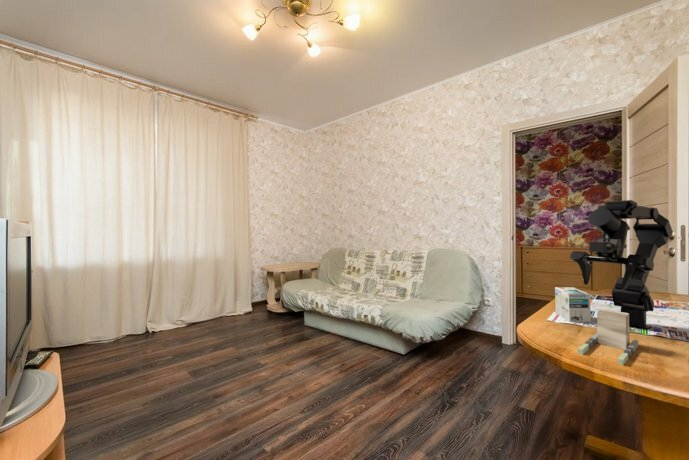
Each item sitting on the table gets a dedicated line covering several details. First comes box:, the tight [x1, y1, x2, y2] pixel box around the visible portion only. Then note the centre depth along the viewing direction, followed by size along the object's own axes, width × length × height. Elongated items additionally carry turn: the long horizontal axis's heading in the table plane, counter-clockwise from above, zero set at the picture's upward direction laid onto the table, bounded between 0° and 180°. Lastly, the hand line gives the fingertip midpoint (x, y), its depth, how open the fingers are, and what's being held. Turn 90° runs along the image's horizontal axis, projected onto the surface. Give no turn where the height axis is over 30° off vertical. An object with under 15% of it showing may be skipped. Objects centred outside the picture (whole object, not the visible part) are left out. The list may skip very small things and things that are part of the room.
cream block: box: [596, 308, 630, 351], centre depth 86 cm, size 4×6×9 cm, turn 37°
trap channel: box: [577, 331, 639, 366], centre depth 83 cm, size 17×9×2 cm, turn 127°
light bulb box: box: [554, 286, 592, 323], centre depth 109 cm, size 11×7×11 cm, turn 168°
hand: (603, 287), depth 92 cm, fingers open, 9 cm apart
